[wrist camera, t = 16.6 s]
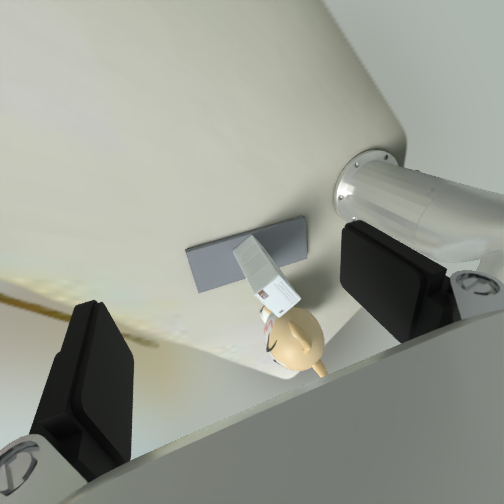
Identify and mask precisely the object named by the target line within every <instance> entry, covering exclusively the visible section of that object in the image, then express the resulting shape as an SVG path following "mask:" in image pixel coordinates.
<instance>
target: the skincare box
mask: <svg viewBox="0 0 504 504" xmlns="http://www.w3.org/2000/svg"><path fill="white" fill-rule="evenodd" d="M233 253H234V255H235V257H236V259H237V261H238V263H239V265H240V267H241V269H242V271H243V273H244V275H245V277H246V279H247V281H248V283H249V285H250V287H251V289H252V291H253V293H254V295H255V296H256V297H257V298H258V299H259V300H260V301H261V302H262V303H263V304H264V305H265V306H266V307H267V308H268V309H269V310H271V311H272V312H273V313H274V314H275V315H276V316H277V317H278V318H279V317H281V316H282V315H283V314H285V313H286V312H287V311H288V310H289V309H291V308H292V307H293V306H294V305H295V304H297V303H298V302H299V301H300V300H301V297H300V296H299V295H298V294H297V292H296V291H295V290H294V288H293V287H292V285H291V284H290V282H289V281H288V280H287V278H286V277H285V276H284V274H283V273H282V271H281V270H280V269H279V267H278V266H277V265H276V263H275V262H274V260H273V259H272V258H271V256H270V255H269V254H268V252H267V251H266V250H265V248H264V247H263V246H262V245H261V244H260V243H259V241H258V240H257V239H256V238H255V237H254V236H253V235H251V236H250V237H248V238H247V239H246V240H245V241H243V242H242V243H241V244H240V245H238V246H237V247H236V248H235V249H234V250H233Z"/></svg>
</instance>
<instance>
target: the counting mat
mask: <svg viewBox="0 0 504 504" xmlns="http://www.w3.org/2000/svg"><path fill="white" fill-rule="evenodd" d="M251 235H253V236H254V237H255V238H256V239H257V240H258V241H259V243H260V244H261V245H262V246H263V247H264V248H265V250H266V251H267V252H268V254H269V255H270V256H271V258H272V259H273V260H274V262H275V263H276V265H277V266H278V267H282V266H285V265H288V264H291V263H295V262H298V261H301V260H304V259H307V241H306V218H305V217H303V216H301V217H298V218H294V219H291V220H287V221H284V222H280V223H277V224H273V225H270V226H266V227H263V228H259V229H256V230H252V231H249V232H245V233H242V234H238V235H235V236H231V237H228V238H224V239H221V240H217V241H214V242H210V243H207V244H203V245H200V246H196V247H193V248H189V249H186V250H185V251H186V255H187V258H188V261H189V264H190V267H191V271H192V274H193V277H194V280H195V283H196V287H197V290H198V293H201V292H204V291H208V290H211V289H214V288H217V287H220V286H223V285H226V284H229V283H232V282H236V281H239V280H242V279H245V278H246V277H245V275H244V273H243V271H242V269H241V267H240V265H239V263H238V261H237V259H236V257H235V255H234V253H233V250H234V249H235V248H236V247H237V246H238V245H240V244H241V243H242V242H243V241H245V240H246V239H247V238H248V237H250V236H251Z"/></svg>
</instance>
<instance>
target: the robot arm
mask: <svg viewBox="0 0 504 504" xmlns="http://www.w3.org/2000/svg"><path fill="white" fill-rule="evenodd" d="M334 205H335V208H336V211H337V213H338V214H339V216H341V217H342V218H343V219H344V220H346V221H347V222H350V223H347V224H346V225H345V228H343V229H342V240H341V267H340V282H341V285H342V287H343V288H344V289H345V290H346V291H347V292H348V293H349V294H350V295H351V296H352V297H353V298H354V299H355V300H356V301H357V302H358V303H359V304H360V305H362V306H363V307H364V308H365V309H366V310H367V311H368V312H369V313H370V314H371V315H372V316H373V317H374V318H375V319H376V320H377V321H378V322H379V323H380V324H381V325H382V326H383V327H385V328H386V329H387V330H388V331H389V332H390V333H391V334H392V335H393V336H394V337H395V338H396V339H397V340H398V341H399V342H400V343H402V344H400V345H397V346H395V347H393V348H390V349H388V350H385V351H383V352H381V353H378V354H376V355H373V356H371V357H369V358H366V359H364V360H361V361H359V362H357V363H354V364H352V365H350V366H347V367H345V368H343V369H340V370H338V371H335V372H333V373H331V374H328V375H326V376H324V377H321V378H319V379H317V380H314V381H312V382H310V383H307V384H305V385H302V386H300V387H298V388H295V389H293V390H291V391H288V392H286V393H284V394H281V395H279V396H277V397H275V398H272V399H270V400H267V401H265V402H263V403H260V404H258V405H256V406H253V407H251V408H249V409H246V410H244V411H242V412H240V413H237V414H235V415H233V416H230V417H228V418H226V419H223V420H221V421H219V422H216V423H214V424H212V425H209V426H207V427H205V428H203V429H201V430H198V431H195V432H193V433H191V434H189V435H186V436H184V437H182V438H180V439H177V440H175V441H173V442H171V443H169V444H166V445H164V446H162V447H160V448H158V449H155V450H153V451H151V452H149V453H146V454H144V455H142V456H140V457H138V458H135V459H133V460H131V461H130V459H131V437H132V408H133V407H132V406H133V377H134V376H133V375H134V359H133V355H132V353H131V351H130V349H129V347H128V345H127V344H126V342H125V340H124V338H123V336H122V335H121V333H120V331H119V329H118V327H117V326H116V324H115V322H114V320H113V319H112V317H111V315H110V313H109V311H108V310H107V308H106V306H105V304H104V303H103V302H100V303H98V302H97V301H96V300H92V301H89V302H85V303H82V304H79V305H76V306H75V308H74V310H73V314H72V317H71V320H70V323H69V326H68V329H67V332H66V335H65V338H64V342H63V345H62V348H61V351H60V352H59V353H57V354H56V356H55V358H54V361H53V364H52V367H51V370H50V373H49V376H48V379H47V382H46V385H45V388H44V391H43V394H42V397H41V400H40V403H39V406H38V409H37V412H36V415H35V417H34V420H33V424H32V426H31V429H30V432H29V435H26V436H23V437H20V438H19V439H17V440H15V441H13V442H11V443H9V444H8V445H7V446H5V447H4V448H3V449H1V450H0V504H504V195H503V194H499V193H495V192H490V191H486V190H483V189H479V188H475V187H471V186H468V185H464V184H461V183H457V182H454V181H450V180H446V179H443V178H439V177H436V176H432V175H428V174H425V173H421V172H420V171H419V170H415V171H414V170H411V169H407V168H404V167H400V166H399V165H398V163H397V161H396V159H395V158H394V157H393V156H392V155H391V154H390V153H388V152H385V151H381V150H370V151H366V152H363V153H361V154H359V155H358V156H356V157H355V158H353V159H352V160H351V161H350V162H349V163H348V164H347V165H346V167H345V168H344V169H343V171H342V172H341V174H340V176H339V178H338V180H337V183H336V186H335V190H334ZM367 222H368V223H369V224H371V225H373V226H375V227H377V228H378V229H380V230H382V231H384V232H385V233H387V234H389V235H391V236H392V237H394V238H396V239H398V240H399V241H401V242H403V243H405V244H406V245H408V246H410V247H412V248H413V249H416V250H417V251H419V252H420V253H422V254H424V255H426V256H428V257H430V258H432V259H434V260H437V261H442V262H447V263H457V262H467V261H473V260H479V259H480V264H479V266H478V268H477V270H476V271H472V270H463V271H457V272H455V273H453V274H452V275H451V277H450V278H449V277H447V276H446V275H445V274H446V271H447V269H446V268H445V267H443V266H441V265H439V264H438V263H436V262H434V261H432V260H430V259H429V258H427V257H425V256H424V255H422V254H420V253H418V252H417V251H415V250H413V249H411V248H410V247H408V246H406V245H404V244H403V243H401V242H399V241H397V240H396V239H394V238H392V237H390V236H389V235H387V234H385V233H383V232H382V231H380V230H378V229H376V228H375V227H373V226H371V225H369V224H368V223H367Z"/></svg>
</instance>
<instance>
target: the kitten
mask: <svg viewBox="0 0 504 504" xmlns="http://www.w3.org/2000/svg"><path fill="white" fill-rule="evenodd" d="M259 315H260V317H261V318H262V319H263V322H264V323H265V328H264V340H265V345H266V350H267V352H269V353H270V354H271V356H272V357H273V358H274V361H275V362H277V363H278V364H280V365H281V366H283V367H285V368H287V369H290V370H293V371H303V370H307V369H309V368H311V367H313V369H314V370H315V371H316V372H317V373H318V375H319V376H320V377H324V376H326V375H328V374H327V371H326V368H325V366H324V364H323V362H322V361H321V360H320V358H321V356H322V354H323V350H324V336H323V332H322V329H321V327H320V325H319V323H318V321H317V320H316V318H315V317H314V316H313V315H312V314H311V313H310V312H308V311H307V310H305V309H302V308H298V307H294V306H293V307H292V308H291V309H289V310H288V311H287V312H286V313H285V314H283V315H282V316H281V317H279V318H278V317H277V316H276V315H275V314H274V313H273V312H272V311H271V310H269V309H268V308H267V307H266V306H264V307H263V310H262V311H260V313H259Z"/></svg>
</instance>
